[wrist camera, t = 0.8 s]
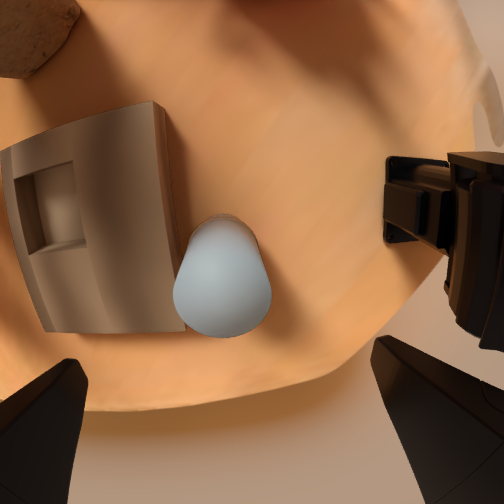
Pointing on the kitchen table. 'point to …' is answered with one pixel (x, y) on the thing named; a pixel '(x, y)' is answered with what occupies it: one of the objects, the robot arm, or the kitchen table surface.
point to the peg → (222, 279)
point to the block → (32, 33)
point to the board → (97, 222)
